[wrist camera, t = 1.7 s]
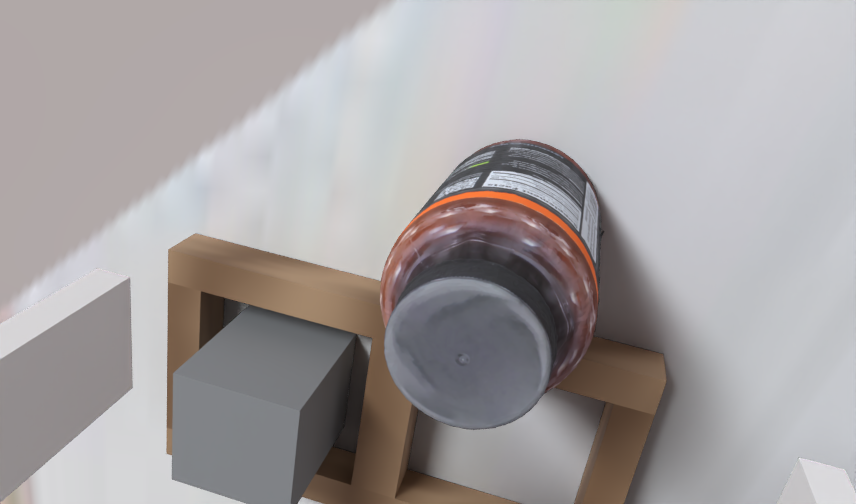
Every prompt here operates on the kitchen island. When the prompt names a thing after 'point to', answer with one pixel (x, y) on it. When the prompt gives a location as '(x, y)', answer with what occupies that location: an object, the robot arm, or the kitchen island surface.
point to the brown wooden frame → (383, 402)
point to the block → (261, 406)
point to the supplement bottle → (494, 286)
